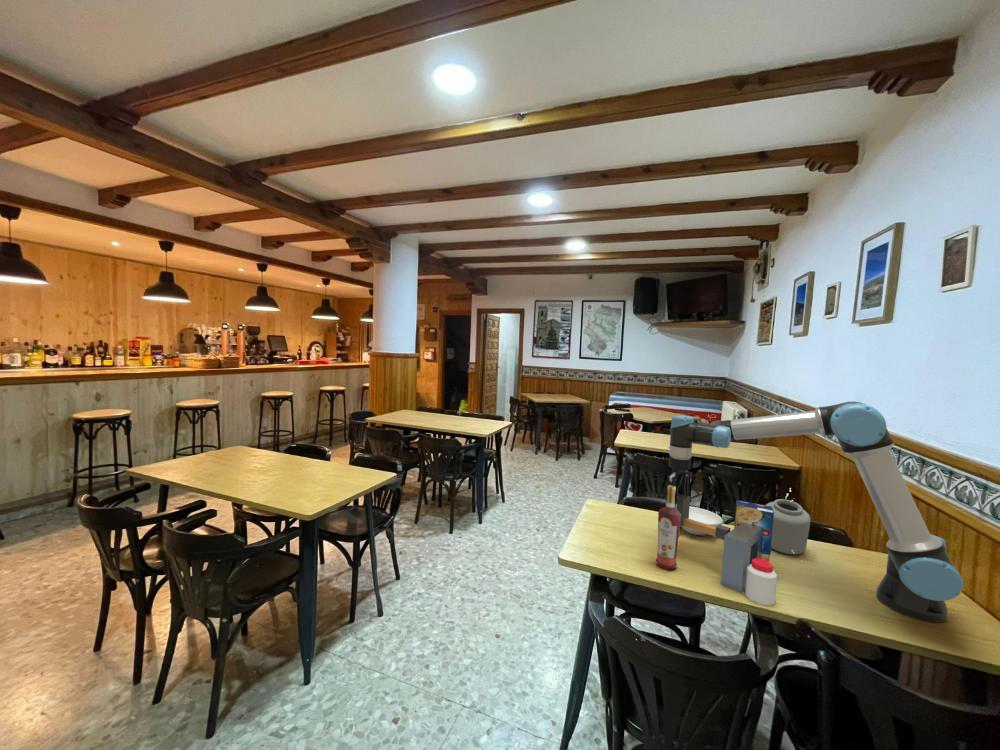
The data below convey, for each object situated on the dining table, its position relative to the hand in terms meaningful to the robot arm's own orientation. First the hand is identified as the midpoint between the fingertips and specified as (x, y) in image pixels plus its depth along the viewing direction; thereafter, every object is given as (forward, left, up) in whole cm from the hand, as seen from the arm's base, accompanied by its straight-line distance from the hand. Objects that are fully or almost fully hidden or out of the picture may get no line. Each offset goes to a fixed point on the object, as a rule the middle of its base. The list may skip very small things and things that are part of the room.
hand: (676, 518), depth 150 cm
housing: (-23, 0, -12) cm, 26 cm away
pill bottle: (-30, +8, -13) cm, 34 cm away
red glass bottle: (-3, +13, -13) cm, 19 cm away
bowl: (+3, -26, -13) cm, 29 cm away
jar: (-26, -37, -13) cm, 47 cm away
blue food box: (-22, -12, -13) cm, 28 cm away
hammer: (-8, 0, -1) cm, 8 cm away
